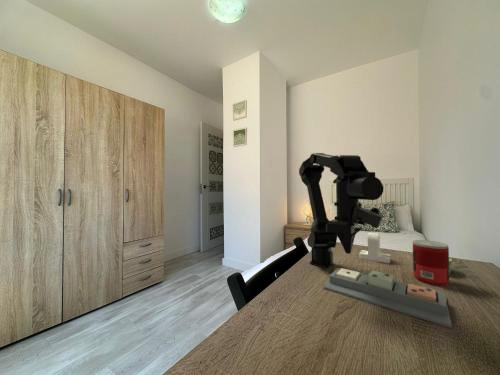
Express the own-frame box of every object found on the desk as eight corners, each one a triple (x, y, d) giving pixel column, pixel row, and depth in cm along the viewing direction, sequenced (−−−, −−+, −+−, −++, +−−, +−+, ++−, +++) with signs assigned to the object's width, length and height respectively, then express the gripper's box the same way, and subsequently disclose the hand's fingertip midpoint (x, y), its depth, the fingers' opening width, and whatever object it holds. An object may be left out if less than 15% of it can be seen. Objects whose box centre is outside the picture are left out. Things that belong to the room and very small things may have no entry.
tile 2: (368, 285, 52) (368, 275, 53) (371, 278, 56) (371, 269, 56) (391, 291, 49) (391, 280, 49) (393, 283, 53) (393, 274, 53)
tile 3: (407, 301, 47) (407, 290, 47) (408, 292, 51) (408, 282, 51) (436, 309, 44) (436, 297, 44) (435, 299, 48) (435, 288, 48)
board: (323, 288, 56) (323, 279, 56) (339, 272, 66) (339, 264, 66) (451, 327, 39) (451, 315, 39) (445, 298, 50) (445, 288, 50)
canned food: (456, 287, 55) (456, 247, 56) (423, 285, 57) (422, 245, 57) (437, 275, 63) (436, 240, 63) (407, 273, 64) (407, 239, 65)
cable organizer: (361, 254, 84) (361, 230, 84) (390, 259, 78) (390, 233, 78) (359, 258, 80) (358, 232, 80) (389, 263, 74) (389, 236, 74)
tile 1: (336, 281, 58) (336, 272, 58) (341, 275, 61) (341, 267, 62) (355, 286, 54) (355, 277, 54) (360, 280, 58) (359, 271, 58)
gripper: (373, 200, 46) (375, 270, 45) (385, 198, 60) (386, 251, 60) (324, 199, 53) (325, 259, 53) (345, 197, 67) (346, 244, 67)
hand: (348, 253), depth 58 cm, fingers closed
